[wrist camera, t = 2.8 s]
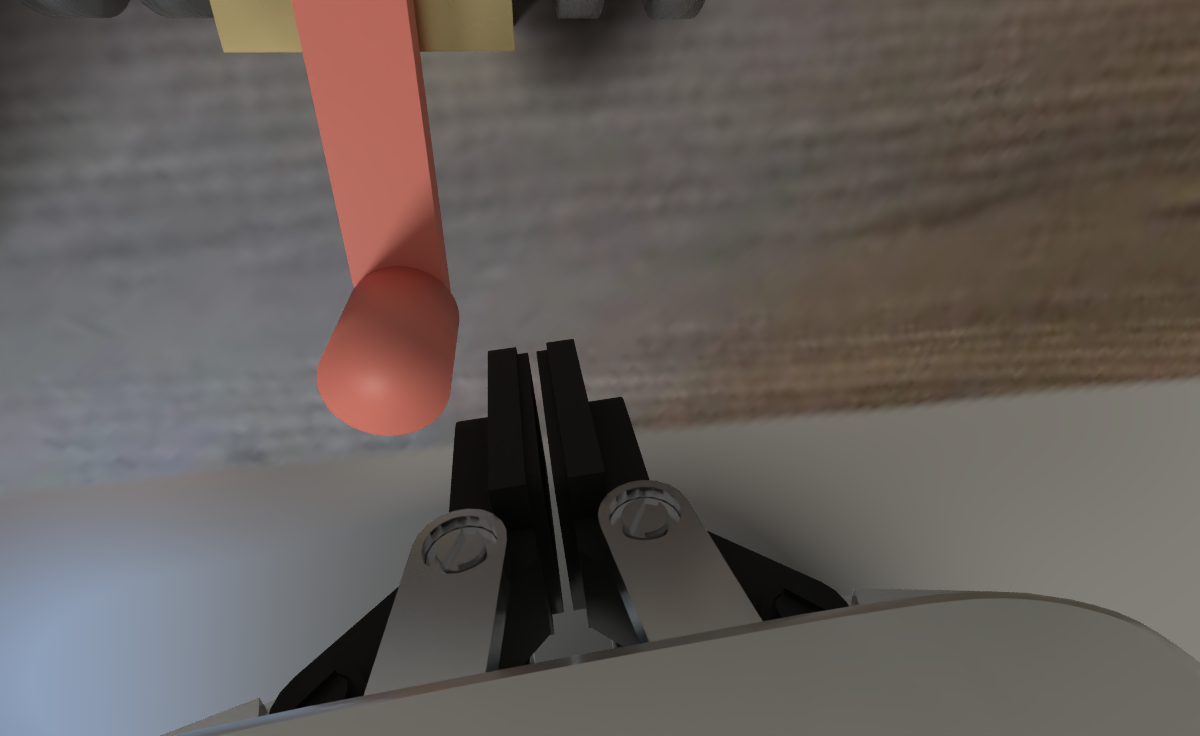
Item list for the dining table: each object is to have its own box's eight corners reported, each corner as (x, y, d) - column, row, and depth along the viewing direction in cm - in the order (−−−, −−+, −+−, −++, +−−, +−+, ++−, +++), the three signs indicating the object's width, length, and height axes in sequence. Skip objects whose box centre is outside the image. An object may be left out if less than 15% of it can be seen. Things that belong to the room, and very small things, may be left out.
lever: (228, -245, 13) (91, -351, 8) (414, -236, 13) (372, -334, 9) (358, 339, 20) (319, 440, 15) (476, 333, 20) (469, 430, 16)
